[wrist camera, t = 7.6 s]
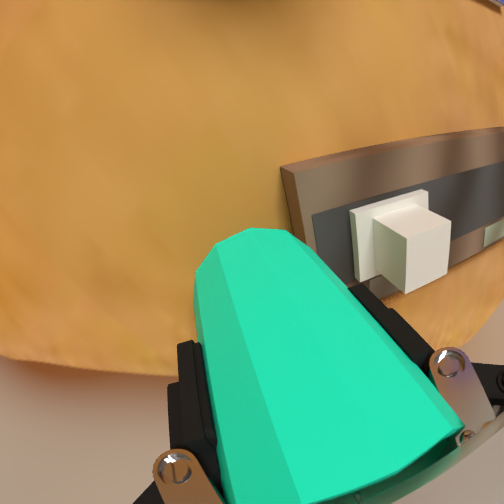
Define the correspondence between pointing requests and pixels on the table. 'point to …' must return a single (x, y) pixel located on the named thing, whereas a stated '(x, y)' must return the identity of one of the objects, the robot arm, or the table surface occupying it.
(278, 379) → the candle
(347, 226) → the switch board
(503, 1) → the hard drive
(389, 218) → the switch tab
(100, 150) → the table surface
